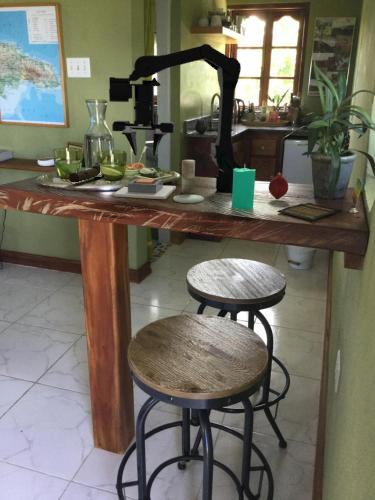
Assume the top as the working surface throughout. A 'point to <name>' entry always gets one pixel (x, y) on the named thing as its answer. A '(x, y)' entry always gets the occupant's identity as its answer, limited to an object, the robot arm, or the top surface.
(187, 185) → the tan cylinder
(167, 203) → the top surface
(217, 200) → the top surface
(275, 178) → the onion
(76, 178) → the dark brown elongated bar
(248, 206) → the candle
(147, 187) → the white flat square slab
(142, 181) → the button
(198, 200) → the mat
